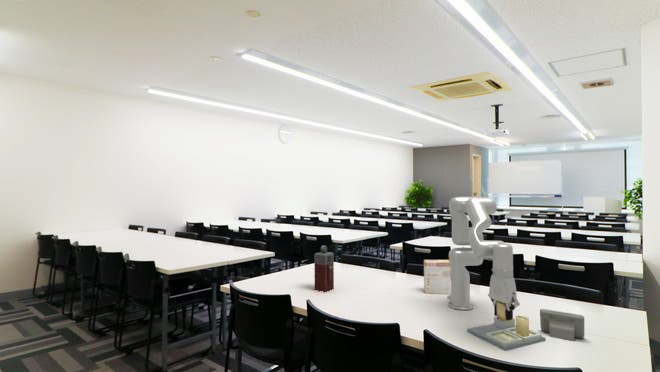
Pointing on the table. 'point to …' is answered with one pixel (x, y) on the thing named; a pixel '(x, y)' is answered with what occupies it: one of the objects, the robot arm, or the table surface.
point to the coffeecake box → (437, 277)
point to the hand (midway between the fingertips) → (503, 317)
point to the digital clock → (562, 324)
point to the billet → (501, 311)
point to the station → (508, 333)
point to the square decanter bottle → (324, 270)
